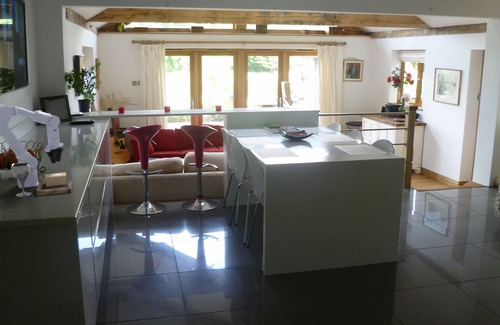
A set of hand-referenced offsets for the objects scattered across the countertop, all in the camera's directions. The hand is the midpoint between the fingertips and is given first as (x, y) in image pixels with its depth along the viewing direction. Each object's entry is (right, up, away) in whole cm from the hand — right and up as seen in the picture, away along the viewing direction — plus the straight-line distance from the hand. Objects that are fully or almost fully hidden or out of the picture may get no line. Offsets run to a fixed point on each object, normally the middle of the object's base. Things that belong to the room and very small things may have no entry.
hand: (55, 162), depth 264 cm
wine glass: (-6, -16, -24) cm, 30 cm away
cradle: (+6, -14, -17) cm, 23 cm away
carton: (+3, -11, -6) cm, 13 cm away
